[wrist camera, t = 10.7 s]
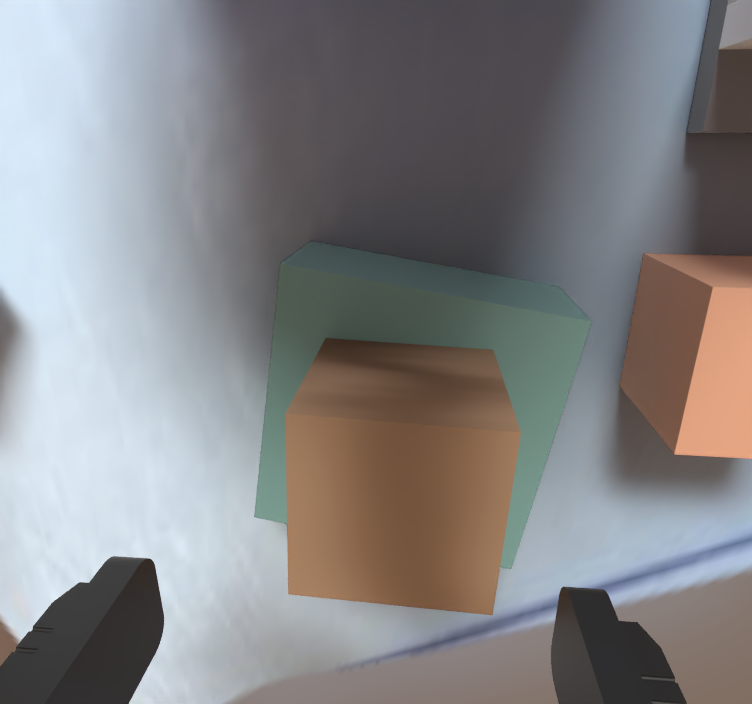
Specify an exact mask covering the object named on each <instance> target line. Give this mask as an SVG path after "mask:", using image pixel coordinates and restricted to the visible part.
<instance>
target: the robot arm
mask: <svg viewBox="0 0 752 704" xmlns="http://www.w3.org/2000/svg"><path fill="white" fill-rule="evenodd" d="M163 627H164V614H163V608H162V602H161V597H160V591H159V586H158V580H157V575H156V569H155V565H154V562H153V561H152V560H151V559H147V558H132V557H116V556H114V557H111V558H109V559H108V560H107V561H106V562H105V563H104V564H103V566H102V567H101V568H100V569H99V571H98V572H97V573H96V575H95V576H94V577H93V579H92V580H91V581H90V582H89V583H81V582H80V583H78V584H77V585H76V586H74V587H73V588H71V589H70V590H69V591H67V592H66V593H65V594H63V595H62V596H61V597H59V598H58V599H57V600H55V601H54V602H53V603H52V604H51V605H50V606H49V608H48V609H47V610H46V611H45V612H44V614H43V615H42V616H41V617H40V619H39V620H38V621H37V622H36V623H35V625H34V626H33V630H32V631H31V632H28V633H27V634H26V636H25V637H24V638H23V639H22V641H21V642H20V643H19V644H18V645H17V647H16V651H15V652H12V653H11V654H10V655H9V656H8V658H7V659H6V660H5V661H4V663H3V664H2V665H1V666H0V704H129V702H130V700H131V698H132V696H133V694H134V692H135V690H136V689H137V687H138V685H139V683H140V681H141V679H142V677H143V675H144V674H145V672H146V670H147V668H148V666H149V664H150V662H151V660H152V659H153V657H154V655H155V653H156V651H157V649H158V646H159V644H160V641H161V637H162V633H163ZM551 665H552V674H553V681H554V685H555V690H556V694H557V698H558V702H559V704H686V700H685V698H684V696H683V694H682V692H681V690H680V688H679V686H678V683H675V677H674V675H673V673H672V671H671V668H670V666H669V664H668V662H667V660H666V658H665V656H664V653H663V651H662V649H661V648H660V646H659V645H658V644H657V643H656V642H655V641H654V640H653V639H652V638H651V637H650V636H649V635H648V633H647V632H646V631H645V630H644V629H643V628H642V627H641V626H640V625H639V624H638V622H625V621H619V620H618V618H617V616H616V613H615V610H614V608H613V606H612V603H611V601H610V598H609V596H608V594H607V592H606V591H605V590H603V589H590V588H575V587H562V588H561V591H560V595H559V601H558V607H557V614H556V620H555V627H554V633H553V639H552V646H551Z"/></svg>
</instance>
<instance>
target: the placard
mask: <svg viewBox="0 0 752 704" xmlns="http://www.w3.org/2000/svg"><path fill="white" fill-rule="evenodd" d="M687 133H752V0H711V5H710V11H709V16H708V21H707V27H706V32H705V38H704V43H703V48H702V54H701V59H700V64H699V70H698V75H697V80H696V86H695V91H694V96H693V102H692V107H691V113H690V118H689V123H688V129H687Z"/></svg>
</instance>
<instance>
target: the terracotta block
mask: <svg viewBox="0 0 752 704" xmlns="http://www.w3.org/2000/svg"><path fill="white" fill-rule="evenodd" d="M620 387H621V388H622V390H623V391H624V392H625V393H626V395H627V396H628V397H629V398H630V400H631V401H632V402H633V403H634V405H635V406H636V407H637V408H638V410H639V411H640V412H641V413H642V415H643V416H644V417H645V418H646V420H647V421H648V422H649V423H650V425H651V426H652V427H653V428H654V430H655V431H656V432H657V433H658V435H659V436H660V437H661V438H662V440H663V441H664V442H665V443H666V445H667V446H668V447H669V448H670V450H671V451H672V452H673V453H674V454H676V455H694V456H712V457H730V458H748V459H752V256H731V255H690V254H649V253H644V254H643V259H642V265H641V270H640V276H639V281H638V287H637V292H636V298H635V303H634V309H633V314H632V320H631V325H630V331H629V337H628V342H627V348H626V353H625V359H624V364H623V370H622V375H621V381H620Z"/></svg>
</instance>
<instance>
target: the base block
mask: <svg viewBox="0 0 752 704" xmlns="http://www.w3.org/2000/svg"><path fill="white" fill-rule="evenodd" d="M591 323H592V321H591V320H590V319H589V318H588V317H587V316H586V315H585V314H584V313H583V312H582V310H581V309H580V308H579V307H578V306H577V305H576V304H575V303H574V302H573V301H572V300H571V299H570V298H569V296H568V295H567V294H566V293H565V292H564V291H563V290H562V289H561V288H560V287H559V286H553V285H548V284H542V283H537V282H531V281H526V280H521V279H515V278H510V277H504V276H499V275H493V274H488V273H483V272H477V271H472V270H466V269H461V268H455V267H450V266H445V265H439V264H434V263H428V262H423V261H417V260H412V259H407V258H401V257H396V256H390V255H385V254H379V253H374V252H369V251H363V250H358V249H352V248H347V247H341V246H336V245H331V244H325V243H320V242H314V241H310V242H309V243H307V244H306V245H305V246H303V247H302V248H300V249H299V250H298V251H296V252H295V253H294V254H292V255H291V256H290V257H288V258H287V259H285V260H284V261H283V262H281V263H280V268H279V278H278V288H277V298H276V308H275V317H274V327H273V337H272V347H271V357H270V367H269V377H268V387H267V396H266V406H265V416H264V426H263V436H262V446H261V456H260V465H259V475H258V485H257V495H256V505H255V515H254V517H256V518H261V519H266V520H271V521H276V522H280V523H285V524H287V485H286V430H285V413H286V411H287V409H288V407H289V406H290V404H291V402H292V400H293V398H294V396H295V394H296V393H297V391H298V389H299V387H300V385H301V383H302V381H303V379H304V378H305V376H306V374H307V372H308V370H309V368H310V366H311V365H312V363H313V361H314V359H315V357H316V355H317V353H318V352H319V350H320V348H321V346H322V344H323V342H324V340H325V338H332V339H347V340H361V341H375V342H389V343H404V344H418V345H432V346H447V347H461V348H475V349H489V350H494V353H495V356H496V359H497V362H498V365H499V368H500V371H501V374H502V377H503V380H504V383H505V386H506V389H507V392H508V395H509V398H510V401H511V404H512V407H513V410H514V413H515V416H516V419H517V422H518V425H519V428H520V431H521V436H520V442H519V448H518V455H517V461H516V468H515V474H514V480H513V487H512V493H511V500H510V506H509V512H508V519H507V525H506V532H505V538H504V545H503V551H502V557H501V564H500V567H502V568H507V569H511V568H512V565H513V562H514V559H515V556H516V553H517V550H518V547H519V544H520V541H521V538H522V535H523V531H524V528H525V525H526V522H527V519H528V516H529V513H530V510H531V507H532V504H533V501H534V498H535V495H536V492H537V488H538V485H539V482H540V479H541V476H542V473H543V470H544V467H545V464H546V461H547V458H548V455H549V452H550V449H551V446H552V442H553V439H554V436H555V433H556V430H557V427H558V424H559V421H560V418H561V415H562V412H563V409H564V406H565V403H566V400H567V396H568V393H569V390H570V387H571V384H572V381H573V378H574V375H575V372H576V369H577V366H578V363H579V360H580V357H581V354H582V350H583V347H584V344H585V341H586V338H587V335H588V332H589V329H590V326H591Z"/></svg>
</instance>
